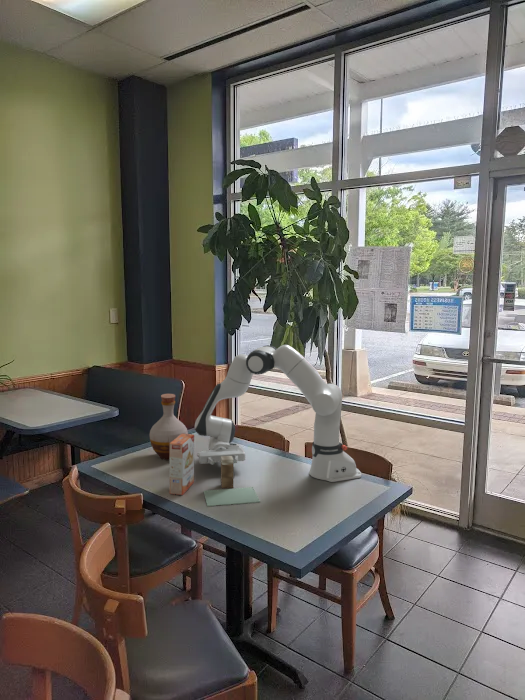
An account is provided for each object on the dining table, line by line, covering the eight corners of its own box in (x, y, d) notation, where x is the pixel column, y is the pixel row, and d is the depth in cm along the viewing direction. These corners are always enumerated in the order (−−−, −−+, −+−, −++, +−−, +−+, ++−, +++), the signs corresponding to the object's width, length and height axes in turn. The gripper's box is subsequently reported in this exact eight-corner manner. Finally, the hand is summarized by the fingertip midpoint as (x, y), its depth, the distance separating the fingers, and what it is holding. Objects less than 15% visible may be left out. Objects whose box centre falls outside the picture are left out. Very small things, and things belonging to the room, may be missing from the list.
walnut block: (231, 483, 217) (231, 455, 216) (233, 487, 213) (233, 459, 211) (220, 484, 216) (220, 456, 215) (222, 488, 212) (222, 460, 210)
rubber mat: (252, 488, 213) (252, 487, 213) (260, 502, 199) (260, 501, 199) (203, 491, 209) (203, 490, 209) (207, 506, 195) (207, 505, 195)
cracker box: (183, 496, 204) (183, 444, 202) (169, 494, 206) (168, 443, 203) (195, 482, 218) (194, 433, 215) (181, 481, 219) (180, 432, 216)
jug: (147, 451, 256) (146, 391, 252) (184, 448, 262) (183, 389, 258) (151, 465, 238) (150, 400, 234) (191, 461, 243) (190, 398, 239)
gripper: (196, 446, 233) (199, 456, 220) (242, 443, 238) (247, 453, 224) (196, 460, 234) (199, 471, 221) (242, 457, 238) (247, 467, 225)
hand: (224, 462), depth 223 cm, fingers open, 8 cm apart
